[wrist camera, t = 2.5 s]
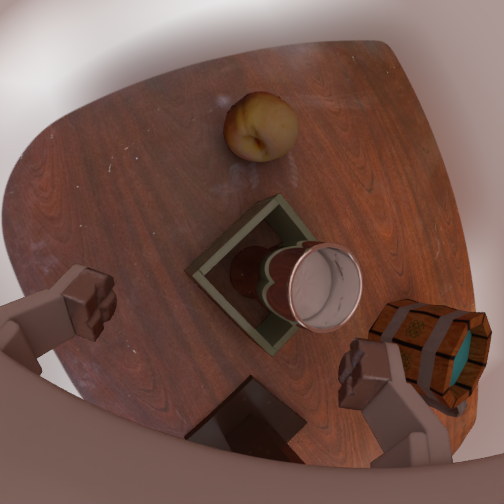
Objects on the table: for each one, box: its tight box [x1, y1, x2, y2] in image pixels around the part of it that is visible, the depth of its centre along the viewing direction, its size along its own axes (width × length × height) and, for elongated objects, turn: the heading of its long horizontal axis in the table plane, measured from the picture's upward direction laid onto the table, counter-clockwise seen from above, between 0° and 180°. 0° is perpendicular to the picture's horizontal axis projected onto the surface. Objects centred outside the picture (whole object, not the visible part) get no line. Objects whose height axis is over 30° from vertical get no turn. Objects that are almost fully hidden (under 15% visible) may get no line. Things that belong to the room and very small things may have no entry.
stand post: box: [185, 375, 307, 464], centre depth 23 cm, size 12×12×27 cm
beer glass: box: [230, 240, 363, 333], centre depth 28 cm, size 7×7×15 cm
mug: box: [369, 299, 492, 417], centre depth 37 cm, size 20×14×15 cm
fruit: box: [223, 92, 299, 162], centre depth 31 cm, size 8×8×8 cm
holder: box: [184, 193, 317, 357], centre depth 32 cm, size 12×12×6 cm
